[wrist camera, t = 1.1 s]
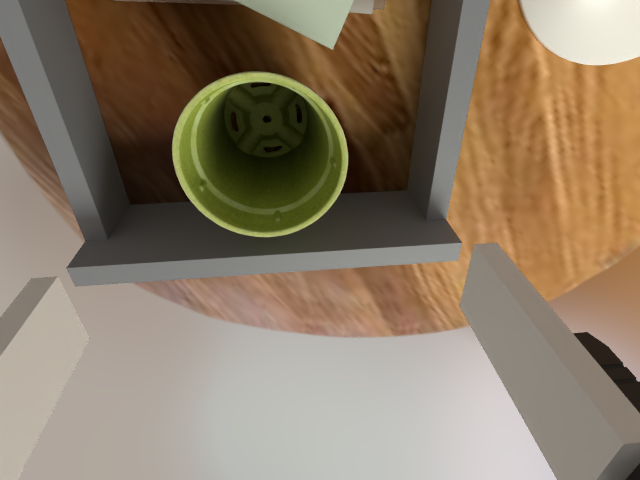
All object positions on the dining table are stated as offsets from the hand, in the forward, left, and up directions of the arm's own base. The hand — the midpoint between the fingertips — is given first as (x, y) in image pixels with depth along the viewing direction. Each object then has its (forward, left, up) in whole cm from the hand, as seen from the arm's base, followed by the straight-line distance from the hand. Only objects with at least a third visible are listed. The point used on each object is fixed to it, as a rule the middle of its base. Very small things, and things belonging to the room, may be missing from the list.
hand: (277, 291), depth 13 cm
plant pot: (0, -1, -19) cm, 19 cm away
